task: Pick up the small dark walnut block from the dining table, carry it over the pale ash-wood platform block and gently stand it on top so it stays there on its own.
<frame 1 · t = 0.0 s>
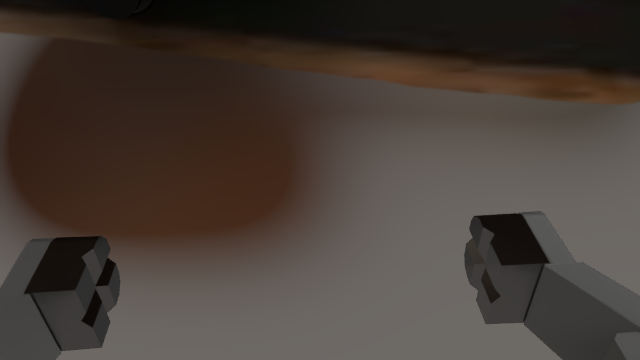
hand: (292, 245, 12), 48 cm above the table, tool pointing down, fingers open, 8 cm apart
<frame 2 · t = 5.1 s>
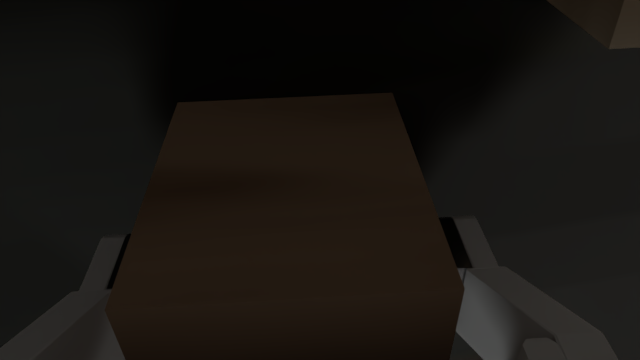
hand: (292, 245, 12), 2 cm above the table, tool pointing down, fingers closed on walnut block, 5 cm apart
walnut block: (291, 183, 13), on the table, touching gripper
when the fingers open (7 cm above the table, at t = 12.9 s): walnut block drops 1 cm, point 3 cm above the table.
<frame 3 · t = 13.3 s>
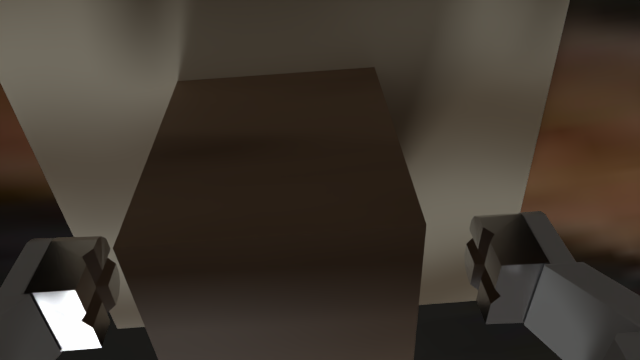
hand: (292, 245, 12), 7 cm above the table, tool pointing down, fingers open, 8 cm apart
ash platform: (290, 90, 18), on the table
walnut block: (285, 155, 14), point 3 cm above the table
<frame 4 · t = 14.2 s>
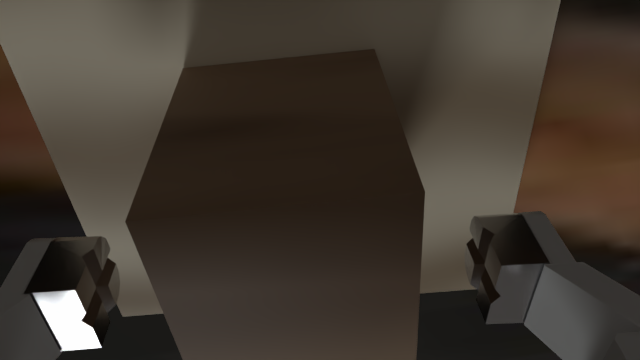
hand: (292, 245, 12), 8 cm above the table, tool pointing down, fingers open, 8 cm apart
ash platform: (292, 83, 18), on the table
walnut block: (289, 139, 15), point 3 cm above the table
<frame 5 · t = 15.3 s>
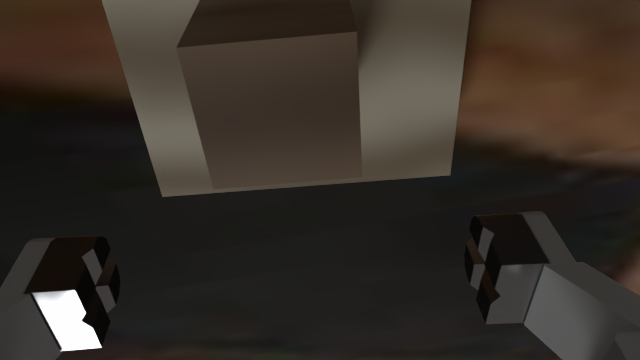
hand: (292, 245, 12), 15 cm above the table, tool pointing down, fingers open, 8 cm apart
ash platform: (293, 14, 24), on the table, touching walnut block
walnut block: (283, 42, 20), point 3 cm above the table, touching ash platform
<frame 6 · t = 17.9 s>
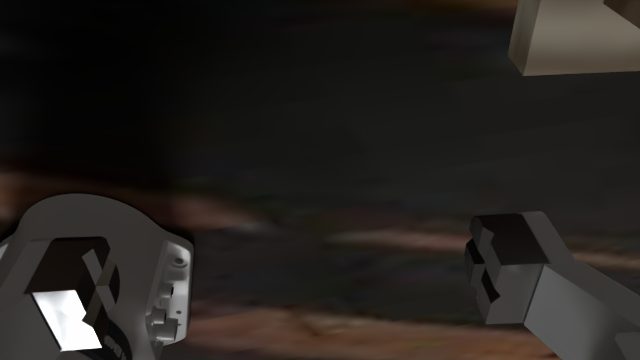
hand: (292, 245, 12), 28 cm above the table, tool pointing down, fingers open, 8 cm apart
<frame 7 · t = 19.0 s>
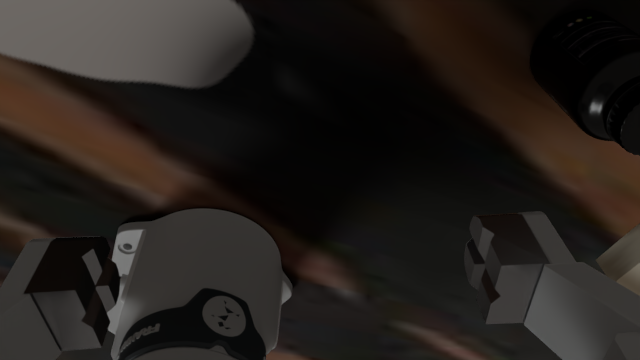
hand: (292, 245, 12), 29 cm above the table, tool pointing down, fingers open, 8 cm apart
supplement bottle: (569, 47, 41), on the table
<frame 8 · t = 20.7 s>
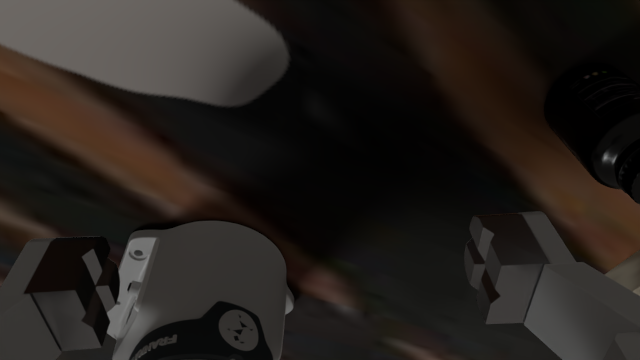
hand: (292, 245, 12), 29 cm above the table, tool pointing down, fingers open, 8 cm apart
supplement bottle: (580, 95, 43), on the table
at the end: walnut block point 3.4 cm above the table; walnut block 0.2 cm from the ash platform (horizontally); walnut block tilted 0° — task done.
